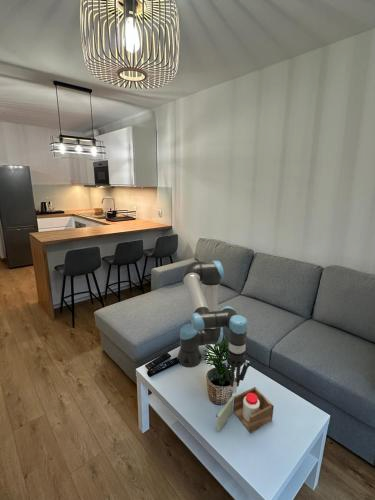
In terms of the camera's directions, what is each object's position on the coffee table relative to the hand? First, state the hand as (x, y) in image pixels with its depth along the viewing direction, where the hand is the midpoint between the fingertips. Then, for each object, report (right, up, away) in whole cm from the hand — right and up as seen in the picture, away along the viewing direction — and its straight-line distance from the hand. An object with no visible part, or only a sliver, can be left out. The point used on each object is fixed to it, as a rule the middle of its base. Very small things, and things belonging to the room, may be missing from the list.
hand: (234, 391), depth 123 cm
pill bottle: (+9, -14, +5) cm, 17 cm away
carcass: (+10, -15, +5) cm, 19 cm away
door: (-4, -16, +3) cm, 16 cm away
